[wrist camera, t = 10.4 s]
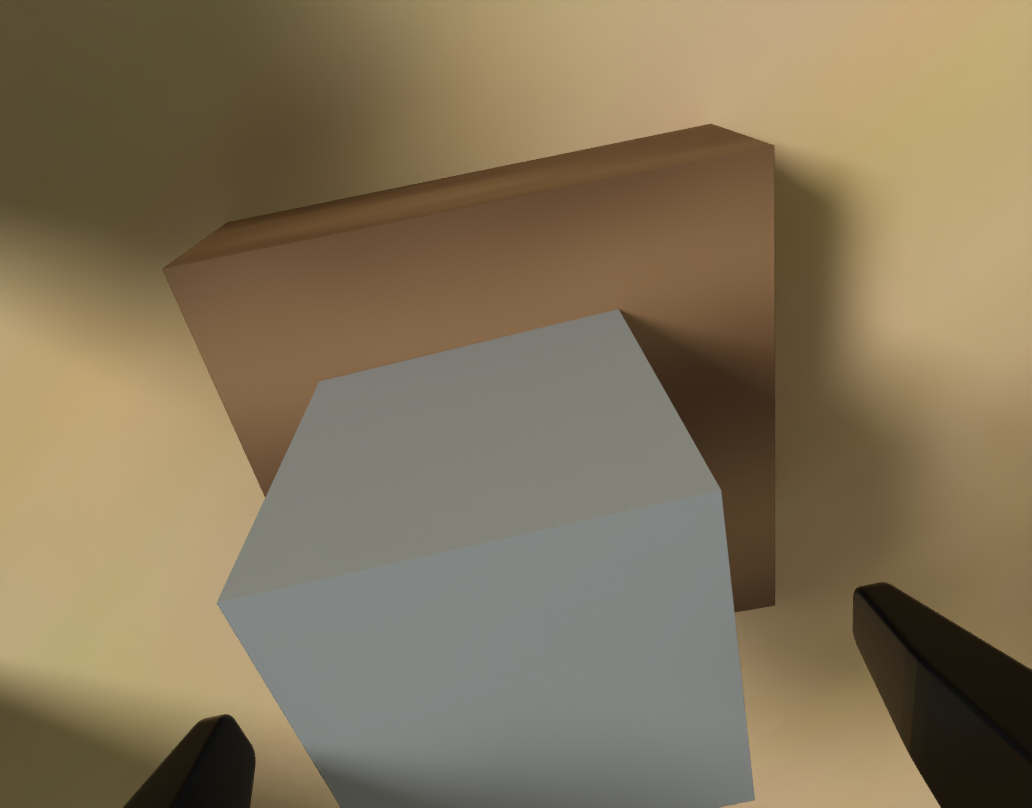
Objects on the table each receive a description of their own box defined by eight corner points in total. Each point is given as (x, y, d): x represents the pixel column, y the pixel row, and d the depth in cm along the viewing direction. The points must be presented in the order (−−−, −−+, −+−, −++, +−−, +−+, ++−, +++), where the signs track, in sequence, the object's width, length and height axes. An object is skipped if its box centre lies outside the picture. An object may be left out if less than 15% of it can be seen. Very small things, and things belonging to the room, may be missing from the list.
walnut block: (723, 507, 20) (774, 605, 17) (369, 571, 21) (347, 679, 17) (705, 122, 15) (774, 145, 12) (233, 218, 16) (161, 269, 12)
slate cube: (658, 546, 16) (754, 800, 10) (411, 600, 16) (380, 874, 11) (618, 309, 13) (721, 490, 8) (319, 381, 13) (216, 603, 8)
